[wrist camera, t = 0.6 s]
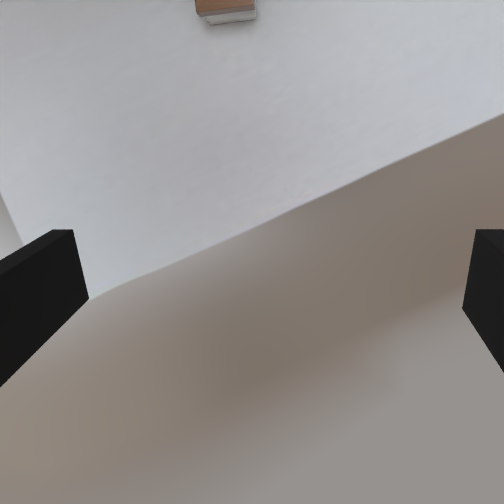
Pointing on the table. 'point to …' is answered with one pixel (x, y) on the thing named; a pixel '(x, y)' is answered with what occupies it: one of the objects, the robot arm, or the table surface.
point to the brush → (226, 10)
